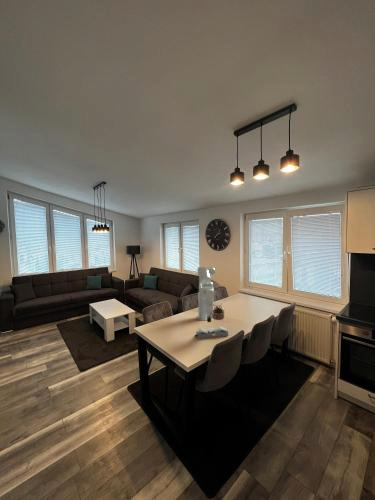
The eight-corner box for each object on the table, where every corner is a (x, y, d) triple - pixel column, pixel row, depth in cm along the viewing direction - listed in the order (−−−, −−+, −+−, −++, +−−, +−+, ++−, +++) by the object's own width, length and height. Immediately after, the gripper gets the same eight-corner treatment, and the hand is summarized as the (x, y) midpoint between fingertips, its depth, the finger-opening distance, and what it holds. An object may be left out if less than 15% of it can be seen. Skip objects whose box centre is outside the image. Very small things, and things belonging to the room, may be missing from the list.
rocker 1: (198, 329, 189) (198, 327, 189) (205, 331, 191) (206, 330, 191) (199, 331, 185) (200, 329, 185) (207, 333, 187) (207, 331, 187)
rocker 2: (208, 330, 191) (207, 329, 191) (216, 328, 193) (215, 326, 193) (209, 332, 187) (209, 331, 187) (217, 329, 189) (217, 328, 189)
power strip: (193, 335, 190) (193, 330, 190) (224, 332, 198) (225, 327, 198) (195, 339, 184) (196, 333, 183) (228, 335, 191) (228, 330, 191)
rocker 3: (217, 327, 193) (217, 325, 193) (224, 329, 195) (225, 328, 195) (219, 329, 189) (219, 327, 190) (226, 331, 191) (227, 329, 192)
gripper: (202, 300, 195) (202, 319, 196) (208, 305, 181) (208, 325, 182) (210, 299, 197) (209, 318, 198) (216, 304, 183) (215, 324, 184)
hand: (209, 321), depth 190 cm, fingers closed
